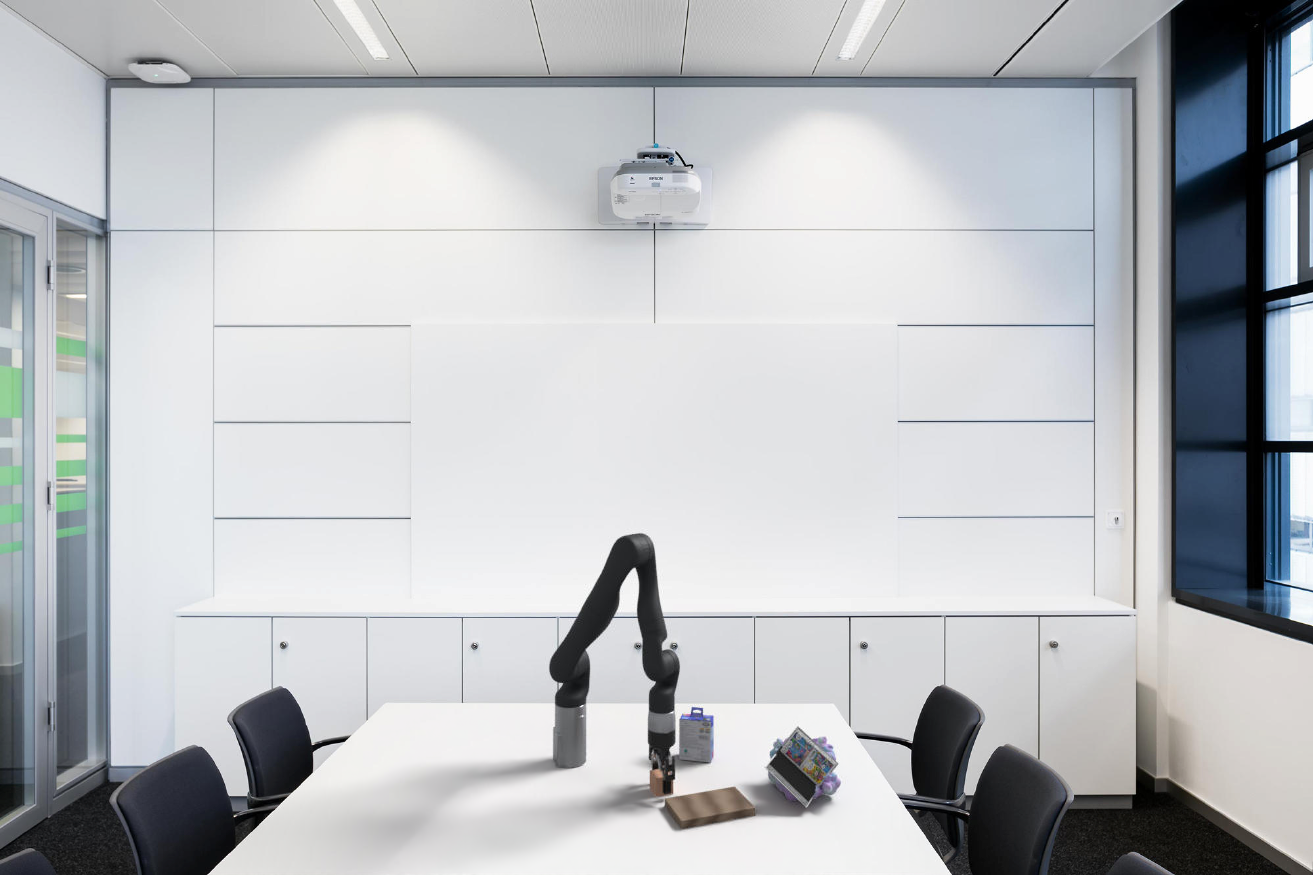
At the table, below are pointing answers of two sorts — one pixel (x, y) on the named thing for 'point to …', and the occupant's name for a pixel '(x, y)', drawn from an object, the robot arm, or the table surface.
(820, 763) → the lumpy iridescent figurine
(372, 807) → the table surface
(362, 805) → the table surface
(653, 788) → the terracotta cube
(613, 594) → the robot arm
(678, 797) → the walnut board
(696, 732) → the ink cartridge box
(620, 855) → the table surface
